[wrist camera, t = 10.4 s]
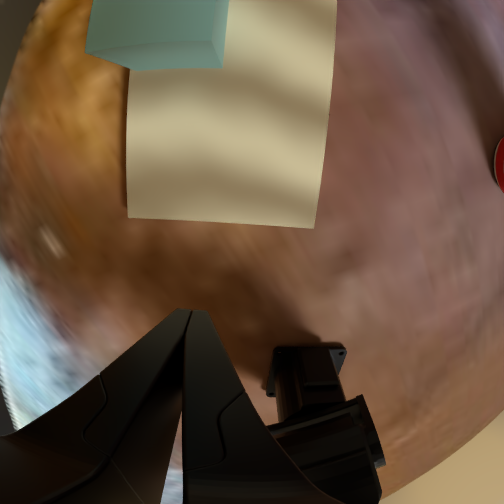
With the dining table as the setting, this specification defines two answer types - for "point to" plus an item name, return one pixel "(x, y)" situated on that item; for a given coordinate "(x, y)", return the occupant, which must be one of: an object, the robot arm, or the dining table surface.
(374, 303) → the dining table surface
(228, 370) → the robot arm
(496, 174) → the beverage can
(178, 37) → the teal rectangular block
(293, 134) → the board
